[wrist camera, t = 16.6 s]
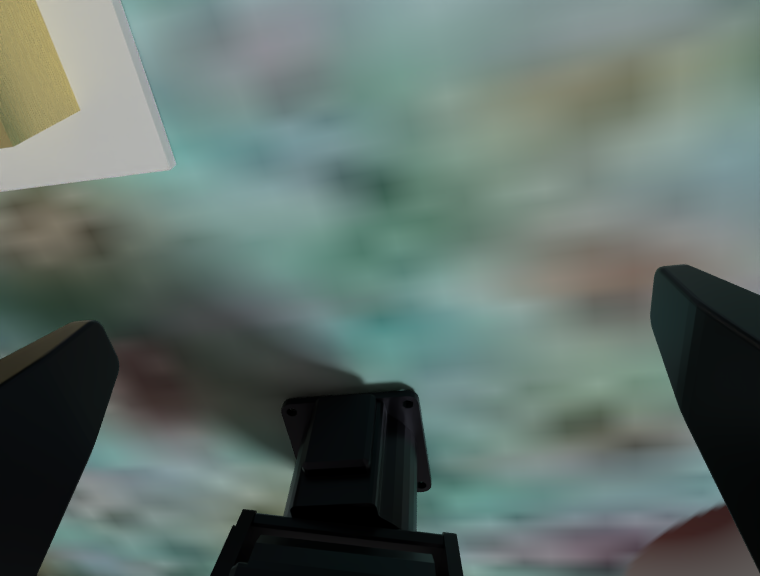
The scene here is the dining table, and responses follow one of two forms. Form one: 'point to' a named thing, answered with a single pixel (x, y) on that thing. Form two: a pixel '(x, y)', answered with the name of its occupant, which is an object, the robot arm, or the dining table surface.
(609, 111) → the dining table surface
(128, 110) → the mat
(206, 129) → the dining table surface
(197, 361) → the dining table surface
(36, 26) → the olive wooden block
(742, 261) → the dining table surface
